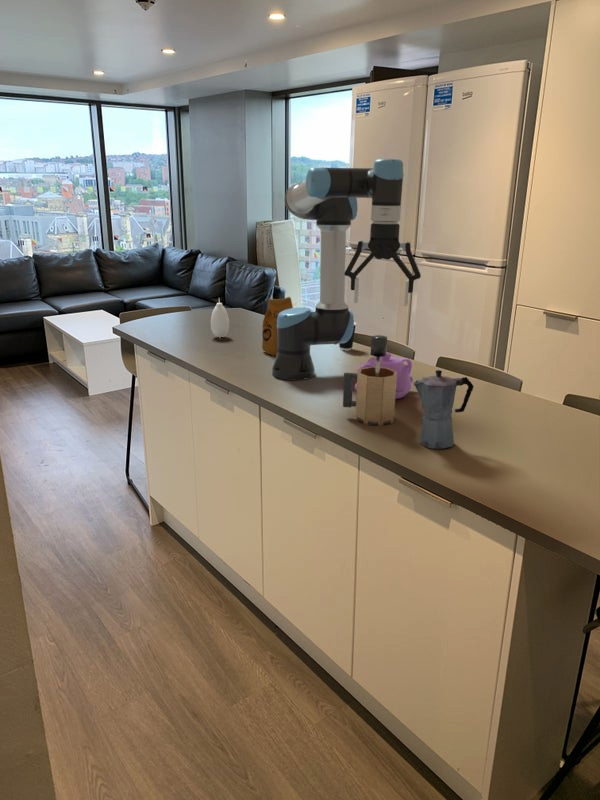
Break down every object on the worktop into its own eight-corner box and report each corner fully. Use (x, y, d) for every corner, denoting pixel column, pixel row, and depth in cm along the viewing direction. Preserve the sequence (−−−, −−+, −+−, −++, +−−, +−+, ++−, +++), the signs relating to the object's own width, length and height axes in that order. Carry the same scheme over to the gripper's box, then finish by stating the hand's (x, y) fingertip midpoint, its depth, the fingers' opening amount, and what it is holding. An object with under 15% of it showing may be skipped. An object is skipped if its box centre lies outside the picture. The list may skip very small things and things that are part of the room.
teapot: (378, 412, 181) (381, 367, 176) (341, 391, 199) (342, 350, 194) (436, 401, 191) (440, 359, 186) (395, 382, 209) (398, 343, 204)
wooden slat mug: (339, 422, 173) (341, 375, 168) (345, 409, 183) (347, 364, 178) (392, 427, 170) (395, 379, 165) (395, 413, 180) (398, 368, 175)
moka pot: (404, 436, 163) (409, 365, 156) (460, 435, 164) (467, 364, 158) (413, 451, 154) (419, 376, 148) (472, 449, 155) (481, 375, 149)
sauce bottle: (232, 337, 269) (231, 296, 263) (221, 340, 263) (220, 299, 257) (219, 334, 273) (217, 295, 267) (207, 338, 267) (206, 297, 261)
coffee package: (259, 351, 247) (258, 297, 239) (285, 347, 253) (285, 294, 246) (271, 356, 239) (270, 301, 232) (297, 352, 245) (298, 298, 238)
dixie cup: (346, 346, 256) (347, 320, 252) (359, 349, 250) (360, 323, 247) (332, 348, 251) (333, 322, 248) (345, 352, 246) (346, 326, 242)
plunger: (361, 401, 171) (364, 339, 165) (364, 392, 178) (367, 333, 172) (388, 403, 169) (392, 341, 164) (390, 394, 176) (394, 334, 171)
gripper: (335, 222, 157) (333, 303, 164) (433, 224, 152) (426, 308, 159) (340, 220, 164) (337, 298, 171) (434, 223, 159) (427, 303, 166)
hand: (380, 303), depth 165 cm, fingers open, 13 cm apart
